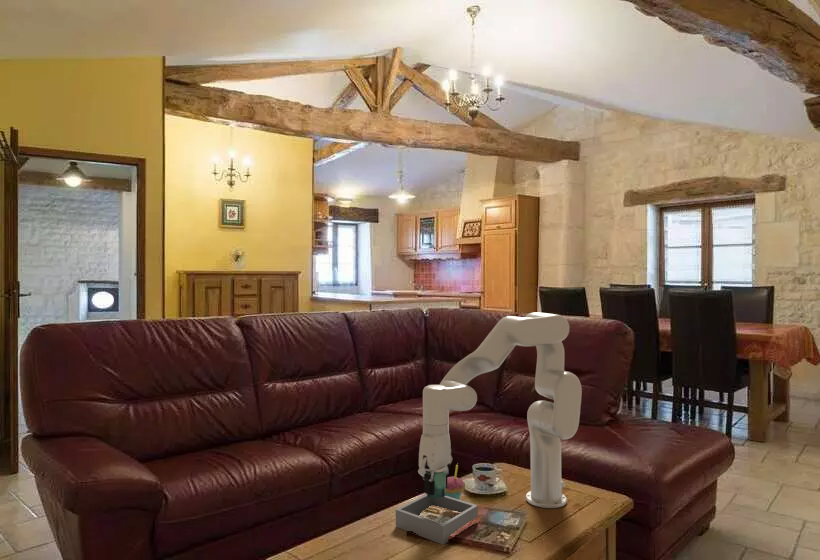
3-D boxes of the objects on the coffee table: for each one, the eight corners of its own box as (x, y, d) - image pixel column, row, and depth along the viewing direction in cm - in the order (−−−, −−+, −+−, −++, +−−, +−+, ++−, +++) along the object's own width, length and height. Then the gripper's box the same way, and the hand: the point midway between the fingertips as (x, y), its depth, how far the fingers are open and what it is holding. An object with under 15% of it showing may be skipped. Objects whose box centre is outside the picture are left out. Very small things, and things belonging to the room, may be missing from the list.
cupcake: (465, 494, 185) (464, 458, 185) (465, 505, 176) (464, 467, 176) (439, 494, 186) (438, 458, 186) (437, 504, 177) (437, 467, 177)
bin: (431, 507, 176) (431, 491, 175) (477, 522, 165) (477, 505, 165) (395, 526, 163) (395, 509, 162) (443, 544, 152) (442, 526, 152)
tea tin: (434, 489, 167) (434, 462, 167) (450, 493, 164) (450, 466, 164) (422, 495, 163) (421, 467, 163) (438, 500, 159) (438, 472, 159)
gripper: (443, 420, 172) (443, 479, 172) (406, 432, 159) (407, 496, 159) (463, 424, 167) (463, 485, 167) (427, 437, 154) (427, 503, 154)
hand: (435, 490), depth 163 cm, fingers closed on tea tin, 5 cm apart
